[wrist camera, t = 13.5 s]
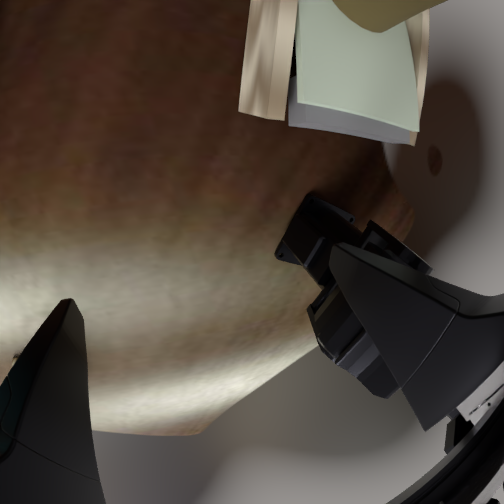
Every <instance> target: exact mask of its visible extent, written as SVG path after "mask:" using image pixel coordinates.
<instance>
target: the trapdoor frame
mask: <svg viewBox="0 0 504 504" xmlns="http://www.w3.org/2000/svg"><path fill="white" fill-rule="evenodd" d="M297 6H298V0H251V4H250V12H249V20H248V28H247V36H246V44H245V53H244V62H243V71H242V81H241V90H240V100H239V112H243V113H247V114H251V115H255V116H259V117H262V118H266V119H276V120H284V117H285V109H286V101H287V93H288V85H289V76H290V68H291V59H292V51H293V42H294V33H295V24H296V15H297ZM429 9H430V8H429ZM429 9H427V10H425V11H423V12H421V13H419V14H417V15H415V16H413V17H411V18H409V19H407V20H405V22H406V27H407V31H408V36H409V41H410V46H411V52H412V57H413V64H414V71H415V79H416V87H417V98H418V111H419V121H420V116H421V110H422V103H423V97H424V90H425V82H426V73H427V63H428V49H429V25H430V16H429V15H430V10H429ZM409 134H410V144H409V145H412V146H415V141H416V136H417V132H413V131H410V130H409Z"/></svg>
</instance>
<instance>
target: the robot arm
mask: <svg viewBox="0 0 504 504" xmlns="http://www.w3.org/2000/svg"><path fill="white" fill-rule="evenodd" d="M310 199H312V201H311V202H309V201H310ZM354 221H355V216H353V215H352V214H350V213H349V212H347V211H345V210H343V209H341V208H339V207H337V206H335V205H333V204H330V203H328V202H326V201H324V200H322V199H320V198H318V197H316V196H314V195H311V194H309V195H307V196H306V197H305V199H304V201H303V202H302V204H301V206H300V208H299V210H298V212H297V213H296V215H295V217H294V219H293V221H292V222H291V224H290V226H289V228H288V230H287V231H286V233H285V235H284V237H283V239H282V240H281V242H280V244H279V246H278V248H277V249H276V251H275V257H276V258H277V259H278V260H281V261H285V262H289V263H293V264H297V265H301V266H303V267H304V268H305V270H306V271H307V272H308V273H309V274H310V276H311V277H312V278H313V279H314V281H315V282H316V283H317V284H318V286H319V287H320V288H321V289H322V291H321V292H320V294H319V295H318V296H317V298H316V299H315V300H314V302H313V303H312V304H310V305H309V306H308V308H307V312H308V315H309V318H310V321H311V324H312V327H313V330H314V333H315V336H316V339H317V342H318V344H319V346H320V348H321V350H322V352H323V353H324V354H326V355H327V357H328V358H330V359H331V360H332V361H333V362H335V364H336V365H338V366H340V367H341V368H343V369H345V370H347V371H348V372H349V373H351V374H352V375H353V376H355V377H356V378H357V379H358V380H359V381H360V382H362V384H363V385H364V386H365V387H366V388H367V389H368V390H369V391H370V392H371V393H372V394H373V395H376V396H379V397H382V398H386V399H388V398H390V397H391V396H392V395H393V394H394V393H395V392H396V391H398V390H399V389H401V390H402V391H403V393H404V395H405V397H406V399H407V400H408V402H409V404H410V406H411V408H412V409H413V411H414V413H415V415H416V417H417V418H418V420H419V422H420V424H421V426H422V428H423V429H424V431H427V430H429V429H430V428H431V427H433V426H434V425H435V424H436V423H438V422H439V421H440V420H442V419H443V418H444V417H446V416H448V417H449V418H450V419H451V421H450V422H449V423H448V424H447V431H446V440H445V448H444V451H445V452H446V454H447V455H446V456H445V457H444V458H443V459H442V460H441V461H440V462H439V463H438V464H437V465H436V466H434V467H433V468H432V469H431V470H430V471H429V472H427V473H426V474H425V475H424V476H423V477H422V478H420V479H419V480H418V481H417V482H415V483H414V484H413V485H411V486H410V487H409V488H408V489H406V490H405V491H403V492H402V493H401V494H399V495H398V496H397V497H395V498H394V499H392V500H391V501H389V502H388V503H386V504H500V503H499V501H498V500H497V499H493V498H491V497H492V496H493V495H494V493H495V492H496V491H497V489H498V488H499V487H500V486H501V484H502V483H503V488H504V294H500V295H496V296H483V295H480V294H477V293H474V292H471V291H469V290H466V289H463V288H460V287H458V286H455V285H452V284H449V283H447V282H444V281H441V280H439V279H437V278H434V277H432V276H431V274H432V273H433V271H434V269H433V268H432V267H430V266H429V265H428V264H427V263H426V262H425V261H424V260H422V259H421V258H420V257H419V256H417V255H416V254H415V253H414V252H413V251H412V250H410V249H409V248H408V247H406V246H405V245H404V244H403V243H401V242H400V241H399V240H398V239H396V238H395V237H394V236H392V235H391V234H390V233H388V232H387V231H386V230H384V229H383V228H382V227H380V226H379V225H378V224H376V223H375V222H373V221H372V220H371V219H370V221H369V222H368V224H367V227H366V229H365V230H364V232H363V233H362V232H361V231H360V230H359V229H357V228H356V227H355V226H354V225H353V223H354ZM280 253H282V254H281V255H279V254H280ZM0 504H106V502H105V498H104V494H103V490H102V486H101V482H100V478H99V473H98V468H97V462H96V457H95V451H94V444H93V438H92V429H91V420H90V408H89V393H88V365H87V353H86V343H85V329H84V319H83V316H82V314H81V313H80V311H79V309H78V307H77V305H76V303H75V301H74V300H73V299H72V298H69V299H63V300H61V301H60V302H59V303H58V305H57V306H56V307H55V308H54V310H53V311H52V312H51V313H50V315H49V316H48V317H47V319H46V320H45V321H44V322H43V324H42V325H41V326H40V328H39V329H38V330H37V332H36V333H35V335H34V336H33V337H32V339H31V340H30V341H29V343H28V344H27V346H26V347H25V349H24V350H23V351H22V353H21V354H20V356H19V357H18V359H17V360H16V362H15V363H14V365H13V366H12V368H11V370H10V371H9V373H8V376H6V377H5V379H4V381H3V382H2V384H1V386H0Z"/></svg>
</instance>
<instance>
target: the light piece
mask: <svg viewBox="0 0 504 504" xmlns="http://www.w3.org/2000/svg"><path fill="white" fill-rule="evenodd" d="M295 43H296V66H297V75H296V76H294V77H292V78H290V79H289V85H288V101H289V126H295V127H303V128H311V129H318V130H325V131H331V132H337V133H343V134H349V135H354V136H359V137H364V138H369V139H374V140H378V141H383V142H387V143H403V144H410V134H409V130H410V131H413V132H419V111H418V98H417V87H416V79H415V71H414V64H413V57H412V52H411V46H410V41H409V36H408V31H407V27H406V22H405V21H403V22H401V23H400V24H398V25H396V26H394V27H392V28H390V29H389V30H387V31H384V32H382V33H376V32H371V31H368V30H366V29H364V28H362V27H360V26H359V25H357V24H356V23H354V22H353V21H351V20H350V19H349V18H348V17H347V16H346V15H345V14H344V13H342V12H341V11H340V10H339V9H338V7H337V6H336V5H335V4H334V2H333V1H332V0H298V6H297V15H296V24H295Z"/></svg>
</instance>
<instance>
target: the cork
mask: <svg viewBox="0 0 504 504" xmlns="http://www.w3.org/2000/svg"><path fill="white" fill-rule="evenodd" d="M332 1H333V2H334V4H335V5H336V6H337V7H338V9H339V10H340V11H341V12H342V13H344V14H345V15H346V16H347V17H348V18H349V19H350V20H351V21H353V22H354V23H356V24H357V25H359V26H360V27H362V28H364V29H366V30H368V31H371V32H376V33H382V32H384V31H387V30H389V29H390V28H392V27H394V26H396V25H398V24H400V23H401V22H403V21H405V20H407V19H409V18H411V17H413V16H415V15H417V14H419V13H421V12H423V11H425V10H427V9H429V8H432V7H434V6H436V5H438V4H440V3H443V2H445V1H447V0H332Z"/></svg>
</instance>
